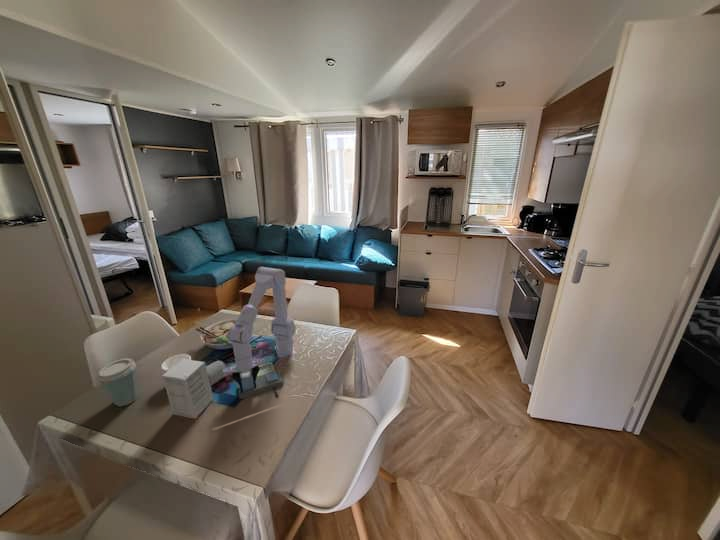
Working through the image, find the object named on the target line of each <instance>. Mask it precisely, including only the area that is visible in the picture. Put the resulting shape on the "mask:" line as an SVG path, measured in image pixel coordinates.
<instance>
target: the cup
mask: <svg viewBox="0 0 720 540" xmlns="http://www.w3.org/2000/svg"><path fill="white" fill-rule="evenodd" d="M183 359H187V360H192V357H191V356H190V355H189V354H186V353H181V354H176V355H173V356H171V357H169V358H167V359H165V360H164V361H163V362H162V364H161V365H160V367H161V371H162V372H163V374H165V373H166V372H167V371H168V370H170V369H171V368H172V367H174V366H175V365H176V364H177V363H179V362H180V361H181V360H183Z"/></svg>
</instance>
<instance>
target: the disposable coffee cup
mask: <svg viewBox="0 0 720 540" xmlns="http://www.w3.org/2000/svg"><path fill="white" fill-rule="evenodd" d="M136 368H137V364H136V362H135V360H133V359H132V358H129V357H126V358H121V359H117V360H115V361H113V362H110V363H108V364H107V365H105V366H103V367H102V368H101V369H100V370H99V372H98V373H97V374H96V375H97V381H99V383H100V384H101V386H102V387H103V389H104V391H105V392H106V393H107V394H108V396H109V397H110V399H111V400H112V402H113V403H114V405H116V406H117V407H124V406H127V405H129V404H132V403H133V402H134V401H135V400H136V399H137V398H138V395H139V390H138V382H137V380H138V379H137V371H136V370H137V369H136Z"/></svg>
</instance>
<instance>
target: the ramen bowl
mask: <svg viewBox="0 0 720 540" xmlns="http://www.w3.org/2000/svg"><path fill="white" fill-rule="evenodd" d="M237 319H238V318H229V319H225V320H220V321H217V322H214V323H212V324H211V325H209V326H207V327H206V328H204V327H202V326H199V328H195V331H197V332H200V338H199V339H200V340H201V341H202V342H203V343H204V345H206V346H208V347H210V348H212V349H215V350H227V349H233V345H232V344H231V341H230V340H228V338H227V335H228V331H229V329H230V327H231V326H233V325H235V323H236V321H237Z"/></svg>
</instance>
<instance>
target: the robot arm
mask: <svg viewBox="0 0 720 540" xmlns="http://www.w3.org/2000/svg"><path fill="white" fill-rule="evenodd" d="M254 280H255V284H254V287H253V290H252V292H251V295H250V297H249V299H248V303H247V304H245V305H244V306H242V307H241V308H242V309H241V311H240V313H239V315H238V317H237V318H236V319H237V321H236V323H235V325H233V326H231V327H230V329H229V331H228V335H227V338H228V340H230V341H231V344H232V345H233V347H232V349H233V354H234V359H235V361H234V362H235V363H234V364H232V365H231V366H227V368H225V369H223V373H224V377H223V378H225V377H227V376H228V375H230V374H232V378H233V380H234V381H235V382H237V383H238V384H239V385H240V389H243V388H242V382H241V376H240V373H247V372H249V371H250V370H251V371H252V376H253V382H254V385H256V383H255V382H256V377H257V374H258V372H259V365H266V359H265V357H261V358H253V355H252V354H253V353H252V348H251V342H250V340H251V338H252V336H253V329H254V326H253V325H254V322H255V320H256V318H257V316H258V313H259V309H258V306H259V305H260V303H261V301H262V299H263V298H264V295H265V294H266V292H267V290H270V289H271V290H272V297H273V306H274V315H275V316H274V318H273V319H272V320H271V322H270V323H271V326H270V332H271V334H272V335H273V336H274V338H275V343H276V344H275V345H276V346H274V349H275V353H276V355H277V358H279V359H280V358H283V357H287V356H291V355H293V354H296V353H297V352H296V350H295V347H294V343H293V336H294V335H295V333H296V331H297V329H296V325H295V320H294V319H293V318H292V317H291V316H289V315H288V304H287V292H286V284H287V282H286V272H285V270H283V269H282V268H273V267H265V266H260V267H258V268H257V270H256V272H255V275H254ZM238 384H237V385H238Z"/></svg>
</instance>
